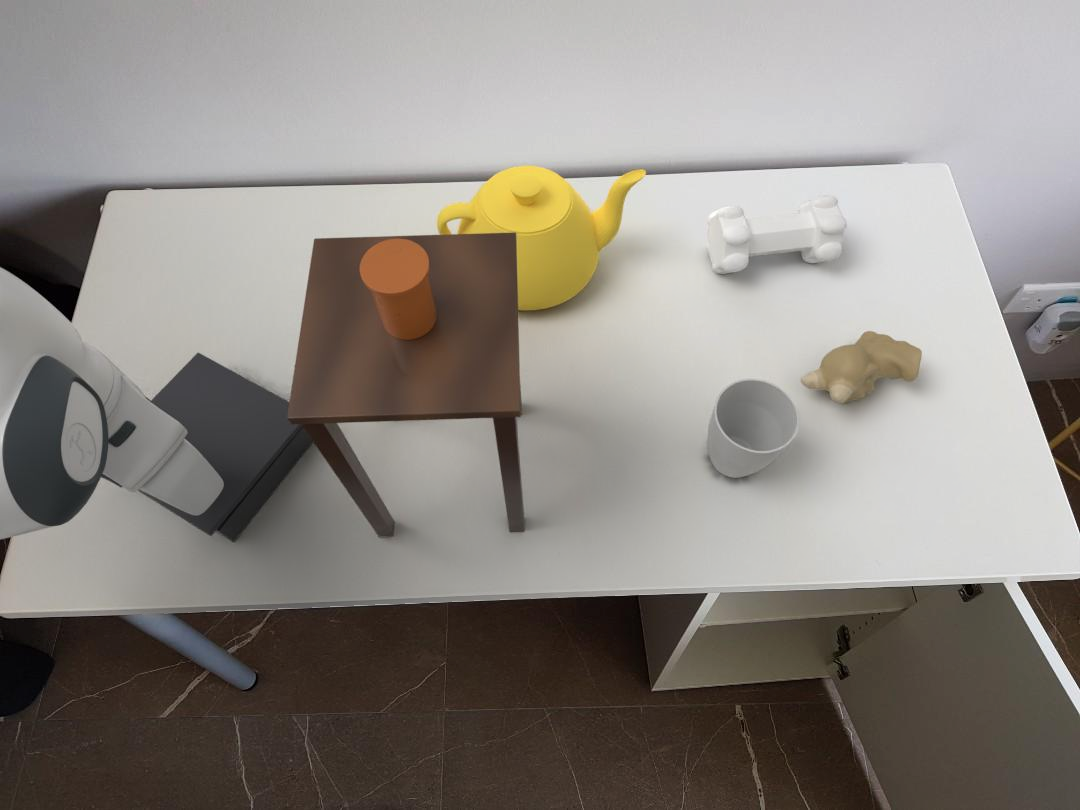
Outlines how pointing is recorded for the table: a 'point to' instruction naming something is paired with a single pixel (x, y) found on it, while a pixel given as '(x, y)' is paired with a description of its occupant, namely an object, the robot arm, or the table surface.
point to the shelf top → (419, 364)
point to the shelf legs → (371, 503)
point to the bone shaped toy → (775, 234)
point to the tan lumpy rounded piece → (864, 366)
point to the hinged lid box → (264, 486)
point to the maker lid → (226, 430)
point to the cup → (750, 426)
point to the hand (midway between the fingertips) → (159, 473)
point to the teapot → (544, 228)
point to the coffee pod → (400, 287)
